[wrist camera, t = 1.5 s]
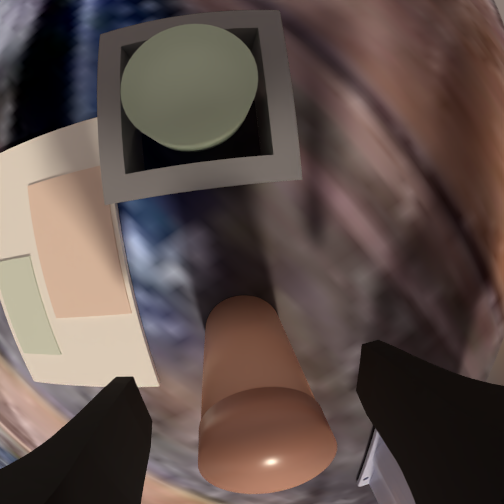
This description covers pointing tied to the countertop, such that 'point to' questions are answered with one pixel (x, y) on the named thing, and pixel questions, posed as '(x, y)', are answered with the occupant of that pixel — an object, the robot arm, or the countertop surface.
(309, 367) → the countertop surface
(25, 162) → the sheet
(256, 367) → the brown round-topped peg
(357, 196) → the countertop surface
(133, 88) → the button
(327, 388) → the countertop surface
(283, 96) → the button housing
